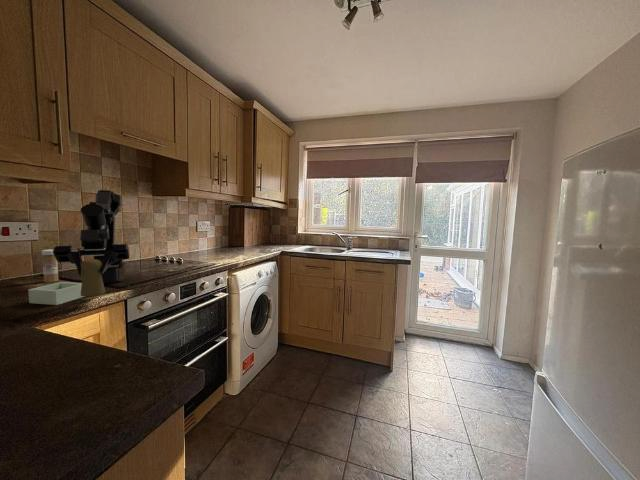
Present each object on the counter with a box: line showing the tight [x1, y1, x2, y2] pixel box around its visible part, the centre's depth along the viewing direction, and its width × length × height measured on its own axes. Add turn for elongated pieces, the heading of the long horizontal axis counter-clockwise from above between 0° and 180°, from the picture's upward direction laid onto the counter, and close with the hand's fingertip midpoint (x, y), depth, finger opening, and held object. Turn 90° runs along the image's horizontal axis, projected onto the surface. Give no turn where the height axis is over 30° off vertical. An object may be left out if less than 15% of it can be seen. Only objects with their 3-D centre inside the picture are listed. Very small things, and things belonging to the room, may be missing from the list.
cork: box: [81, 258, 106, 297], centre depth 85 cm, size 6×6×11 cm
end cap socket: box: [27, 281, 86, 306], centre depth 90 cm, size 10×10×4 cm
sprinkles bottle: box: [41, 249, 60, 283], centre depth 111 cm, size 5×5×14 cm
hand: (91, 274), depth 83 cm, fingers closed on cork, 5 cm apart
